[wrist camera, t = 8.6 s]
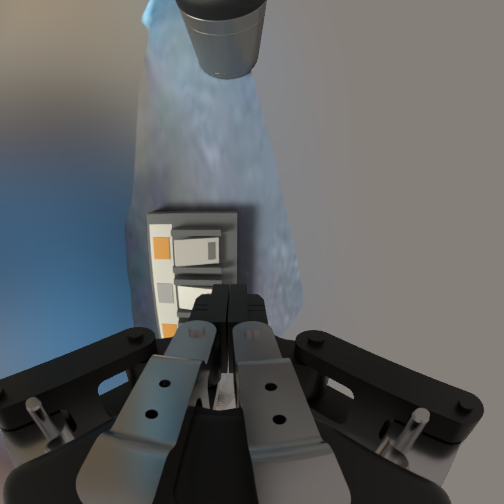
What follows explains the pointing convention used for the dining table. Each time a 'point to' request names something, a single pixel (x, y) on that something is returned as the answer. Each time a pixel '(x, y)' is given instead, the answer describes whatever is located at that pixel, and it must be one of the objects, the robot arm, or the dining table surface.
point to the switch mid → (191, 294)
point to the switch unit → (169, 276)
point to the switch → (196, 251)
